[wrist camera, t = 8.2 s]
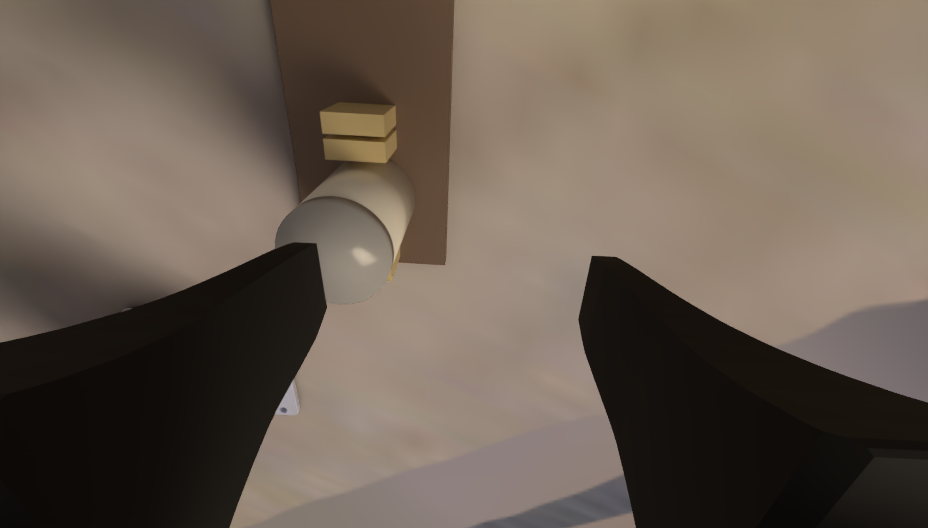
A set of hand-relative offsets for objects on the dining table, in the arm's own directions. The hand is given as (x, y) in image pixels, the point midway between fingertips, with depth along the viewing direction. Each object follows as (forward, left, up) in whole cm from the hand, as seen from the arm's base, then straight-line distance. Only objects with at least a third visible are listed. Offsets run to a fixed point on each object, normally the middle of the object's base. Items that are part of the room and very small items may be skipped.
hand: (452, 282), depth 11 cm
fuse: (-4, -1, -9) cm, 10 cm away
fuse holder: (-4, +2, -10) cm, 11 cm away
